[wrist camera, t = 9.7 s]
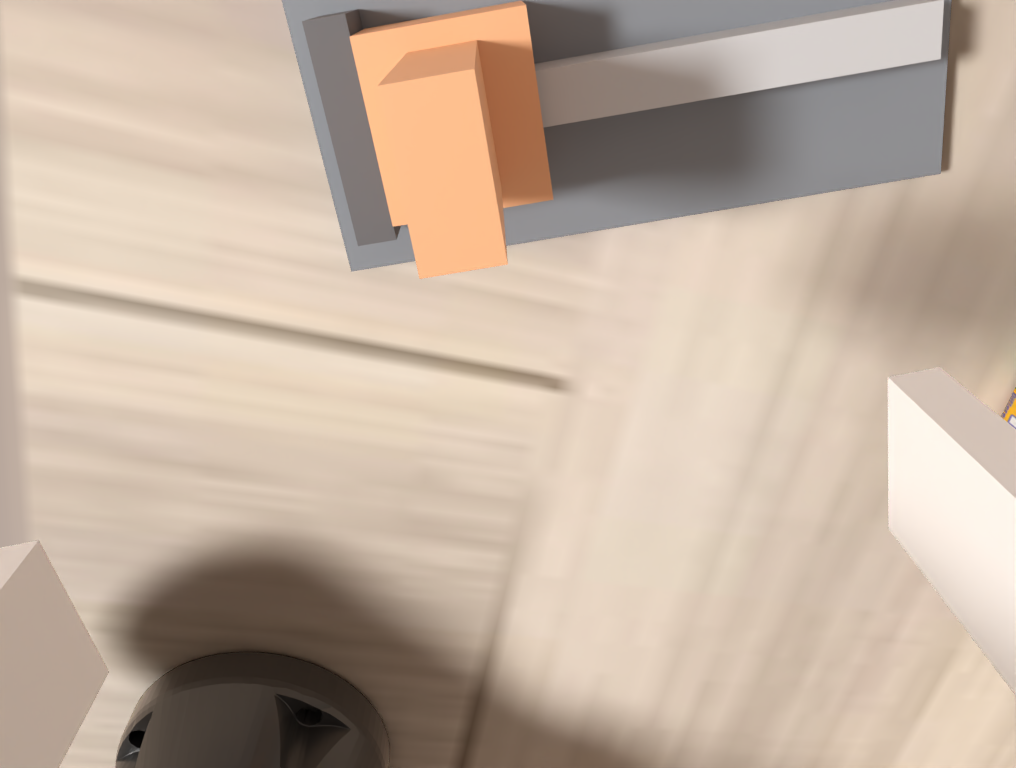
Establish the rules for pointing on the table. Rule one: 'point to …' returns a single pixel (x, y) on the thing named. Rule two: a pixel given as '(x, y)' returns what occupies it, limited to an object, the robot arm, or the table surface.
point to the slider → (455, 130)
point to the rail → (680, 132)
